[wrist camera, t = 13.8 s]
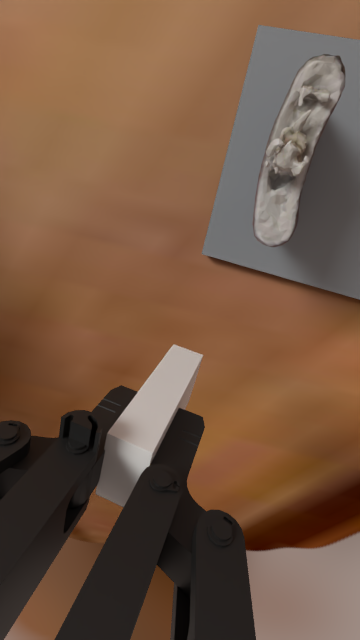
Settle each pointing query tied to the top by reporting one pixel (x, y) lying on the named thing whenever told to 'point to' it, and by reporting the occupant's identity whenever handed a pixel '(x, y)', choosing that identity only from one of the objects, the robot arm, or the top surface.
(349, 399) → the top surface
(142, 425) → the robot arm
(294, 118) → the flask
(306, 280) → the slate board
